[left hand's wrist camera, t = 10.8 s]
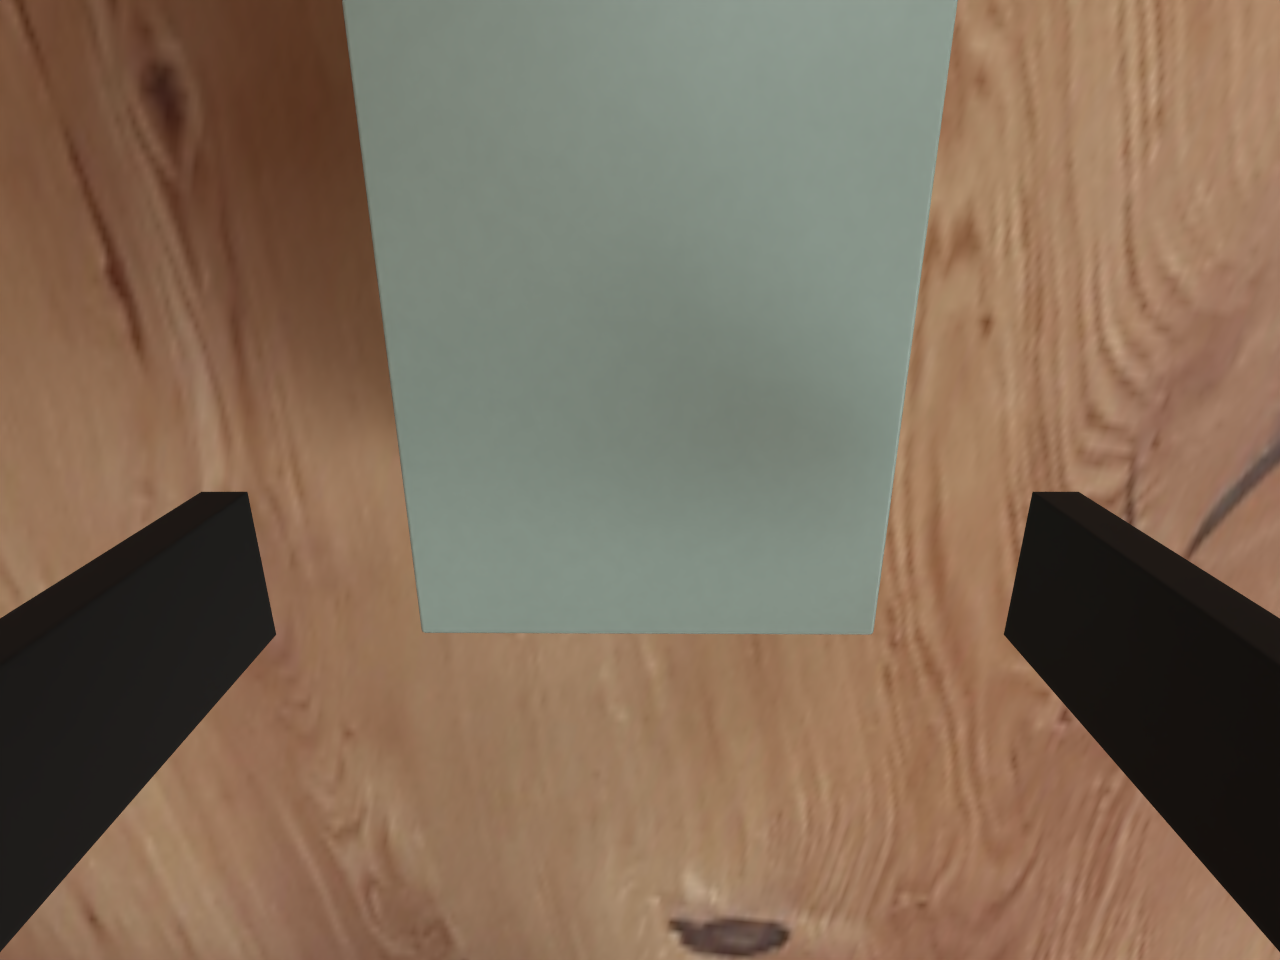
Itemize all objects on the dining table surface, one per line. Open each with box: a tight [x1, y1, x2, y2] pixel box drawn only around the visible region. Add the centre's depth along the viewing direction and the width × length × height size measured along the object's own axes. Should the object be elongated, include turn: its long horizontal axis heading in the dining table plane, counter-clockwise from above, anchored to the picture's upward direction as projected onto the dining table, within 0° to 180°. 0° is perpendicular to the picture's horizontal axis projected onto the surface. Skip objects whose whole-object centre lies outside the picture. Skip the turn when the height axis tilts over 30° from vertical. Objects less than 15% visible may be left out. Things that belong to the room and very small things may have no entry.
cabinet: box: [342, 0, 958, 634], centre depth 18 cm, size 17×10×11 cm, turn 0°
